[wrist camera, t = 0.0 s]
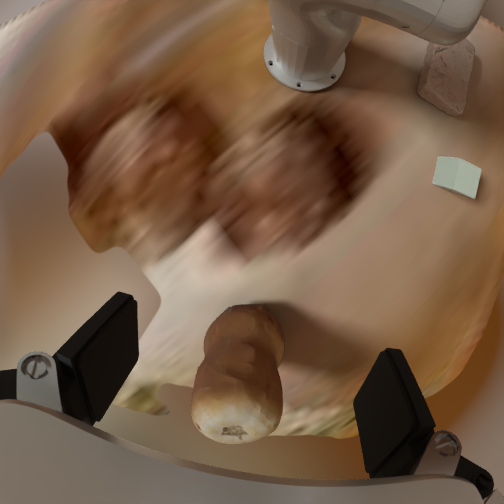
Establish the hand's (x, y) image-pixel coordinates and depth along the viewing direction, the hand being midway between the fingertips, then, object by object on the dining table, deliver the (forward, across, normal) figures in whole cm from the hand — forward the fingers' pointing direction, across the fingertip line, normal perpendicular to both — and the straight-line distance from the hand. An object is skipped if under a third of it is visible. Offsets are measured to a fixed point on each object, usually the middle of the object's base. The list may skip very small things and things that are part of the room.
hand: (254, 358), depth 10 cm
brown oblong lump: (+37, 0, +23) cm, 44 cm away
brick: (+37, -24, -31) cm, 54 cm away
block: (+37, -28, -12) cm, 48 cm away
